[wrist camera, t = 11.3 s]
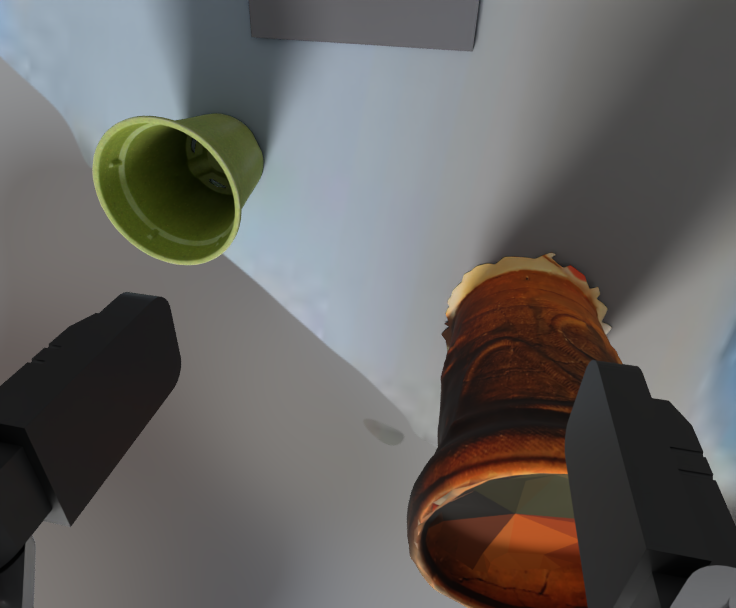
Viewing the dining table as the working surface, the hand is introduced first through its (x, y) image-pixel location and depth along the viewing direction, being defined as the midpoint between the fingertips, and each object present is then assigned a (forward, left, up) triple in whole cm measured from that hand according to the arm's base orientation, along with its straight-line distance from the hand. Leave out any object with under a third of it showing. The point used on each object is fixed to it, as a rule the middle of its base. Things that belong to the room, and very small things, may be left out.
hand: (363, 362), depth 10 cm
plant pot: (+16, +6, -28) cm, 33 cm away
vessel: (-8, +18, -28) cm, 34 cm away
